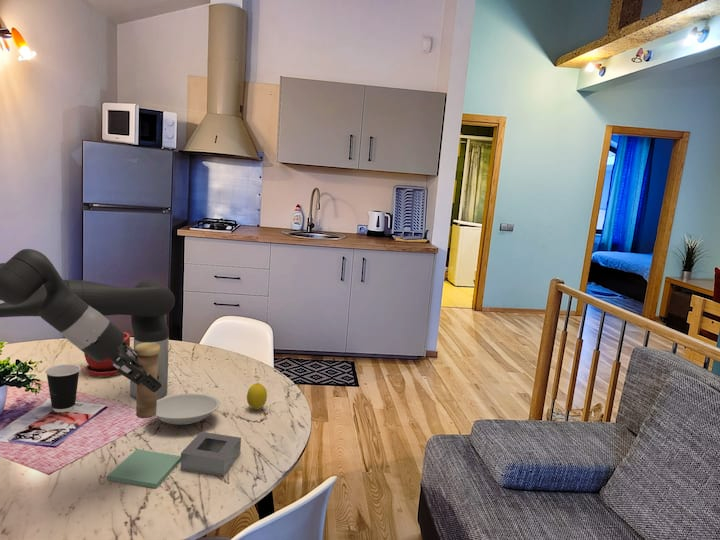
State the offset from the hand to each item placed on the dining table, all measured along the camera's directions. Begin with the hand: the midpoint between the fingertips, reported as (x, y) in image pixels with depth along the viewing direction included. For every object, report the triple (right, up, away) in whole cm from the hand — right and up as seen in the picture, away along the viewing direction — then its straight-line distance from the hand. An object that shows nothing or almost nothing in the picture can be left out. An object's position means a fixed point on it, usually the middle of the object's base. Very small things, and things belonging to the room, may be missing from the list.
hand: (156, 384), depth 108 cm
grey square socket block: (+9, -19, +8) cm, 23 cm away
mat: (-3, -19, +2) cm, 20 cm away
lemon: (+14, -15, +35) cm, 41 cm away
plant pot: (-37, -8, +52) cm, 64 cm away
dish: (-3, -16, +24) cm, 29 cm away
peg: (-2, -6, 0) cm, 7 cm away
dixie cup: (-35, -13, +26) cm, 46 cm away
